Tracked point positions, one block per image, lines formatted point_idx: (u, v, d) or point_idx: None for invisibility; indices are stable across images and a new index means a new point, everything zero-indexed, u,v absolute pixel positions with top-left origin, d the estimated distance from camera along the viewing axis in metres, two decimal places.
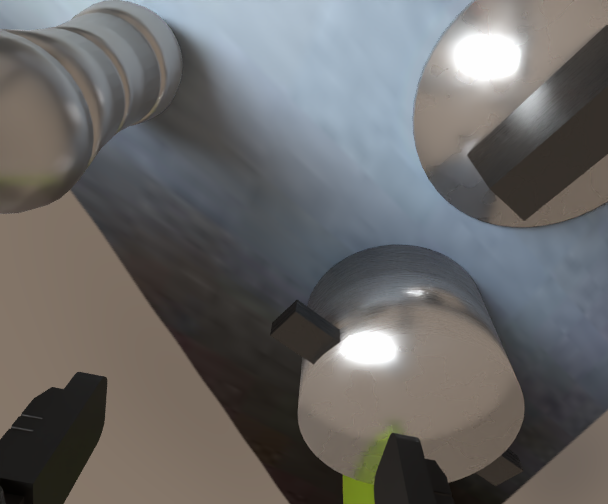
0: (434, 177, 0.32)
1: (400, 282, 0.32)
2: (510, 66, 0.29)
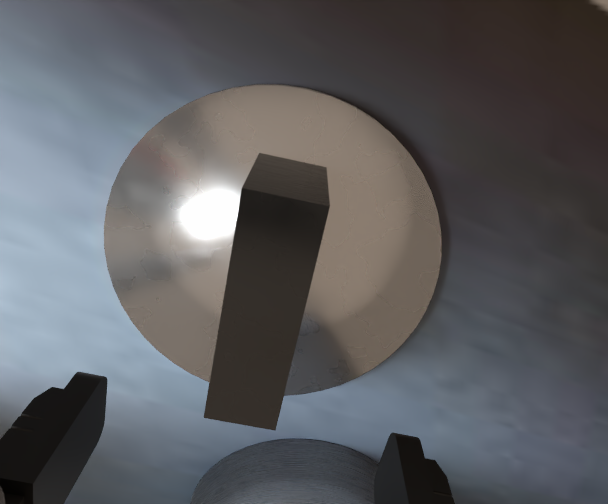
0: None
1: None
2: (195, 242, 0.23)
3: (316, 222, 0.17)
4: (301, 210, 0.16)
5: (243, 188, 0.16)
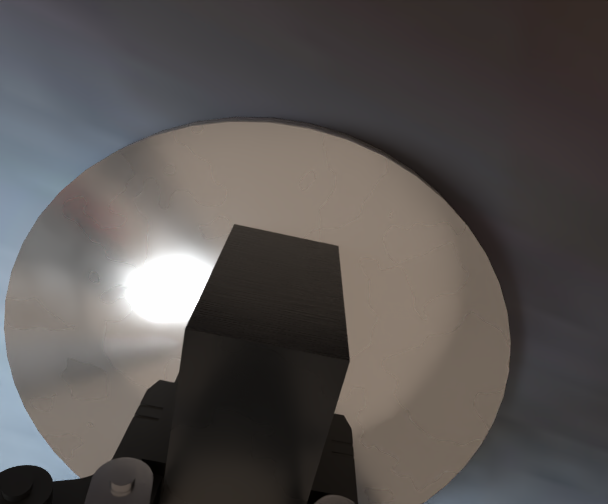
0: None
1: None
2: (141, 349, 0.15)
3: (325, 387, 0.09)
4: (295, 367, 0.09)
5: (188, 329, 0.09)
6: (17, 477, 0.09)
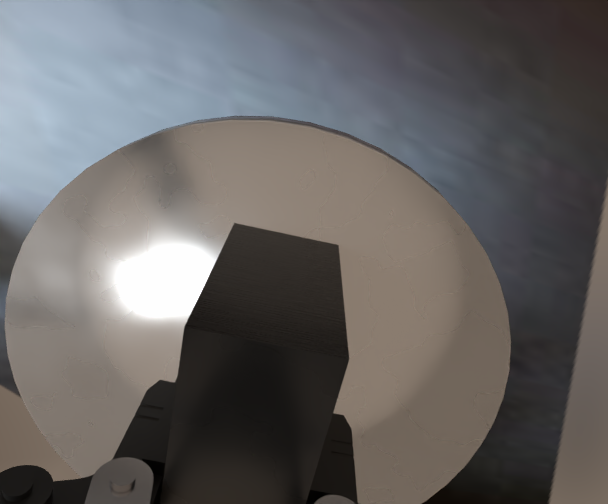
0: None
1: None
2: (141, 347, 0.15)
3: (324, 386, 0.09)
4: (295, 365, 0.09)
5: (187, 327, 0.09)
6: (17, 478, 0.09)
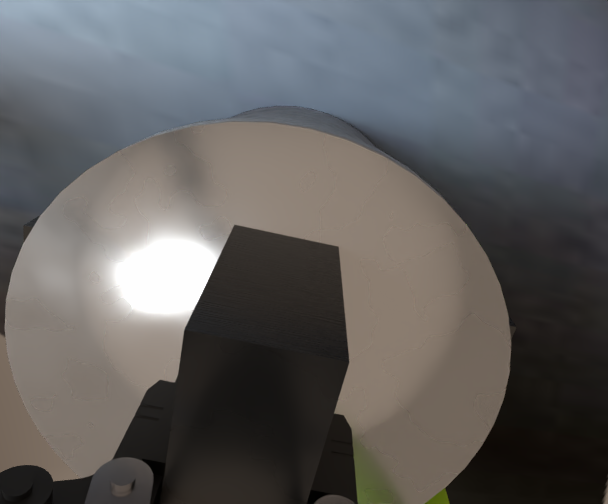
0: None
1: None
2: (142, 349, 0.15)
3: (325, 388, 0.09)
4: (295, 368, 0.09)
5: (187, 330, 0.09)
6: (16, 478, 0.09)
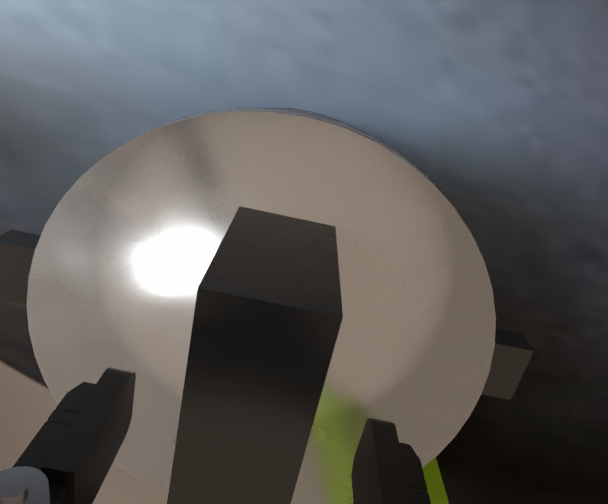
0: None
1: None
2: (153, 324, 0.17)
3: (321, 341, 0.10)
4: (295, 322, 0.10)
5: (200, 288, 0.10)
6: None
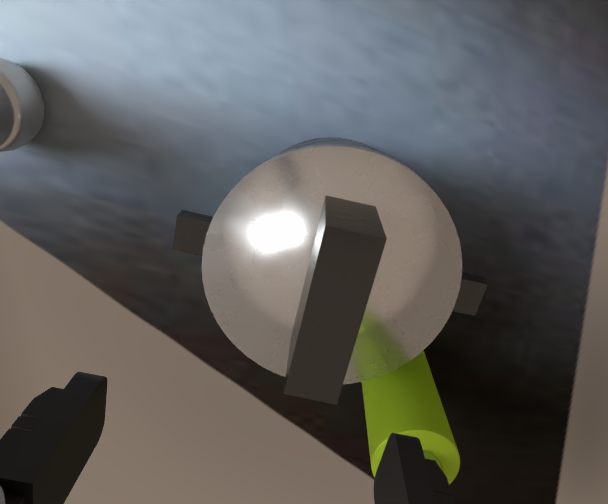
0: (277, 368, 0.33)
1: None
2: (272, 261, 0.30)
3: (376, 250, 0.24)
4: (366, 241, 0.23)
5: (326, 225, 0.23)
6: None
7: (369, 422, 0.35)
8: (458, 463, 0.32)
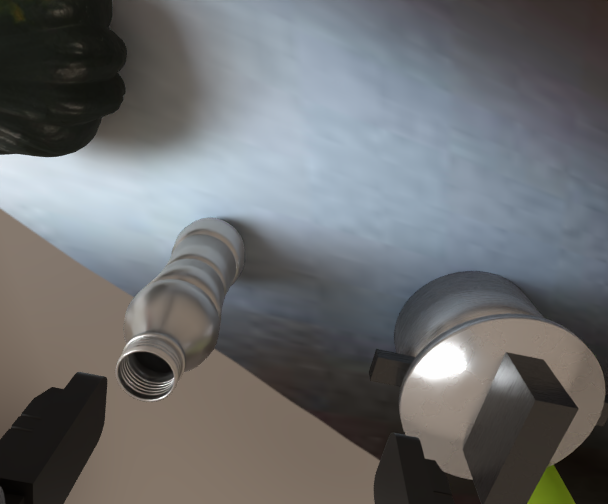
0: (448, 469, 0.42)
1: (443, 305, 0.43)
2: (457, 396, 0.39)
3: (570, 415, 0.32)
4: (563, 410, 0.32)
5: (536, 400, 0.32)
6: None
7: None
8: None
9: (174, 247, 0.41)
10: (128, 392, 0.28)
